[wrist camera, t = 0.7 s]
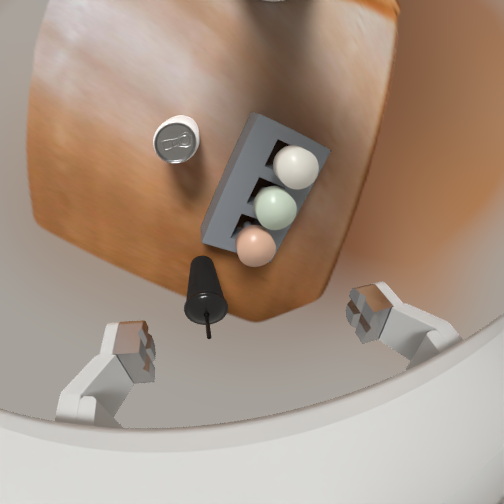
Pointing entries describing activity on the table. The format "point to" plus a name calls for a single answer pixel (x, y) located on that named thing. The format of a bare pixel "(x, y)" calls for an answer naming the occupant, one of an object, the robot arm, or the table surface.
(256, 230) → the knob
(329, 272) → the table surface
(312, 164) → the knob
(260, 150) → the mount
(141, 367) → the robot arm
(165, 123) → the can
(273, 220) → the knob mid
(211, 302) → the drinking cup
